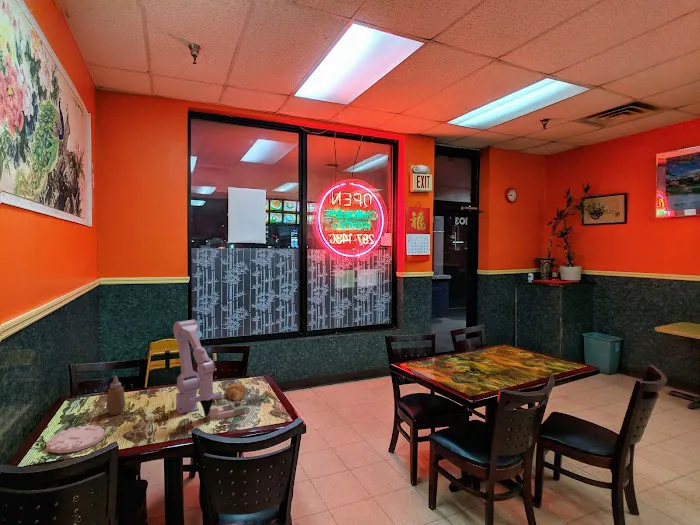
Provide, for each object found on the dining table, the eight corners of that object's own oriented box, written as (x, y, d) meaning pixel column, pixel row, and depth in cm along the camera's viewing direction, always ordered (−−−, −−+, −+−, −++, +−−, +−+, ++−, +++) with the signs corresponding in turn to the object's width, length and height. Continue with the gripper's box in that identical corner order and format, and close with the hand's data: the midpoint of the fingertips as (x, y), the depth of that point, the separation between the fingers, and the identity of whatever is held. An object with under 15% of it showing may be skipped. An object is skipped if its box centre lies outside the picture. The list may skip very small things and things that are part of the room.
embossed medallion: (68, 459, 154) (67, 451, 154) (34, 449, 161) (34, 441, 161) (115, 436, 172) (115, 429, 172) (83, 427, 179) (83, 421, 179)
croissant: (242, 408, 210) (250, 394, 211) (225, 402, 206) (232, 388, 207) (238, 393, 230) (244, 380, 230) (221, 387, 226) (228, 374, 227)
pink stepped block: (210, 419, 189) (210, 410, 189) (208, 415, 194) (208, 406, 194) (223, 416, 193) (223, 407, 192) (221, 412, 197) (221, 404, 197)
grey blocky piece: (217, 419, 188) (217, 410, 188) (212, 412, 197) (212, 402, 197) (245, 413, 195) (245, 404, 195) (238, 406, 204) (238, 397, 203)
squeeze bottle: (116, 417, 190) (116, 379, 189) (102, 415, 192) (101, 378, 191) (129, 410, 198) (128, 374, 197) (115, 408, 200) (114, 373, 199)
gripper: (191, 392, 182) (191, 421, 183) (224, 386, 190) (224, 415, 191) (188, 387, 188) (188, 416, 189) (220, 382, 196) (220, 409, 197)
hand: (206, 415), depth 190 cm, fingers closed
